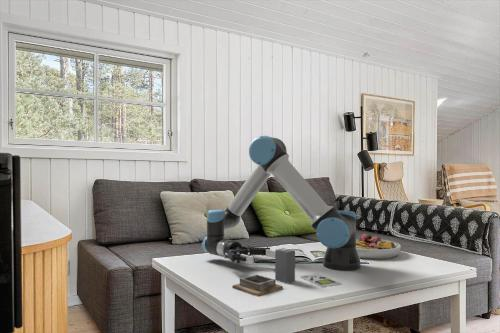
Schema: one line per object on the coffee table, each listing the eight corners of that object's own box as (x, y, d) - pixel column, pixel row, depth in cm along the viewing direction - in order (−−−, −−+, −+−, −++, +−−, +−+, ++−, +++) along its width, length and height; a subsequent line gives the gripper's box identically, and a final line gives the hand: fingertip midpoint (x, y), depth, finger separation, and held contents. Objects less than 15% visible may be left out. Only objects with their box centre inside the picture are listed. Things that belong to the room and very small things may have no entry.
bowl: (406, 262, 175) (406, 244, 175) (335, 259, 181) (335, 241, 181) (395, 249, 205) (395, 233, 205) (335, 246, 211) (335, 231, 211)
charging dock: (257, 281, 145) (257, 272, 145) (282, 288, 136) (282, 279, 136) (232, 287, 136) (232, 278, 137) (257, 296, 128) (257, 286, 128)
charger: (283, 277, 149) (283, 247, 149) (294, 280, 145) (295, 249, 145) (275, 280, 146) (275, 249, 146) (286, 283, 142) (286, 251, 142)
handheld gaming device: (317, 273, 155) (342, 283, 141) (317, 274, 155) (342, 285, 141) (298, 275, 151) (322, 286, 137) (298, 277, 151) (322, 288, 137)
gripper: (251, 254, 177) (287, 262, 161) (205, 263, 160) (241, 273, 144) (251, 237, 177) (287, 243, 161) (205, 244, 160) (241, 252, 144)
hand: (266, 257), depth 153 cm, fingers open, 13 cm apart
